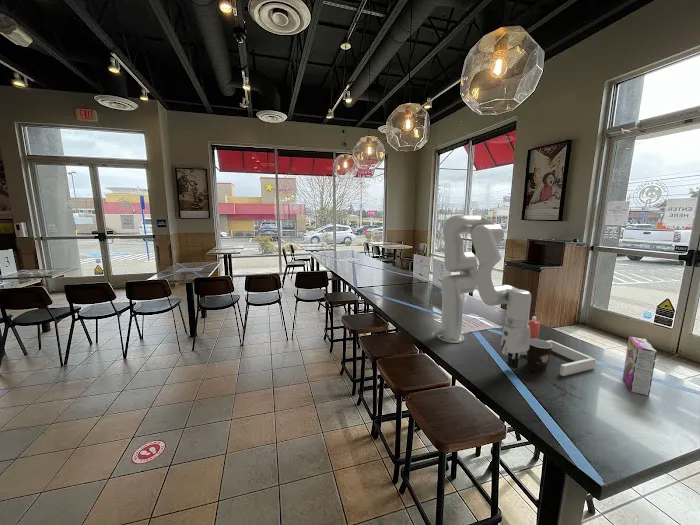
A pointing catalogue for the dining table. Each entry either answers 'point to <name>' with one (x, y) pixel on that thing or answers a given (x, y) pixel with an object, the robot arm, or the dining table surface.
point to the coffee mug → (538, 354)
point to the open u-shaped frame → (581, 359)
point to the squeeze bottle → (534, 328)
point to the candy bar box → (639, 365)
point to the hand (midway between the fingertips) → (512, 366)
